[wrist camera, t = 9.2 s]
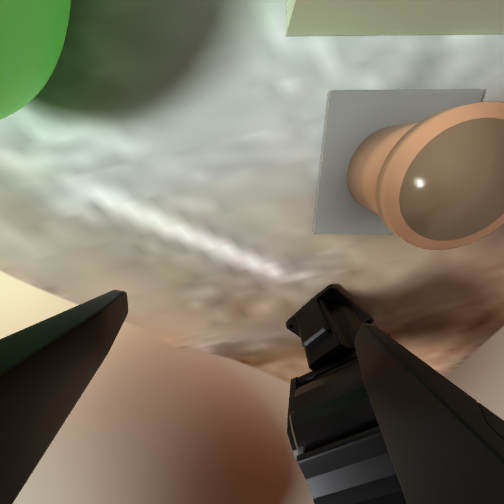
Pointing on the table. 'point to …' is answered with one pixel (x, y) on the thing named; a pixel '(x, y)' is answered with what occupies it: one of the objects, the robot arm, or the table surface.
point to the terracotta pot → (435, 176)
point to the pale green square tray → (394, 17)
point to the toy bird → (29, 48)
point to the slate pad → (353, 134)
